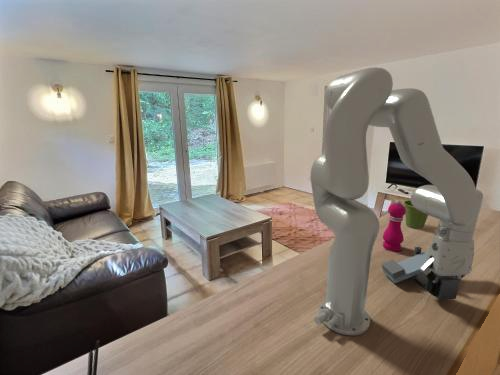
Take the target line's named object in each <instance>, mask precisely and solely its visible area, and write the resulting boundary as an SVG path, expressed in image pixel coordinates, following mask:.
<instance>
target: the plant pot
mask: <svg viewBox="0 0 500 375" xmlns="http://www.w3.org/2000/svg"><path fill="white" fill-rule="evenodd" d="M403 206H404V207H405V209H406V213H405V215H404V216H405V225H406V227H409V228H411V229H418V230H420V229H423V228H424V227H425V225H426V221H427V219H428V217H429V215H427V214H425V213H422V212H420V211H418V210H417V209H415V208H414V206H413V205H412V203H411V199H406V200H404V201H403Z"/></svg>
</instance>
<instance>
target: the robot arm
mask: <svg viewBox="0 0 500 375" xmlns="http://www.w3.org/2000/svg"><path fill="white" fill-rule="evenodd" d="M393 84H394V82H393V77H392V75H391V73H390V72H389V71H388V70H387V69H385V68H383V67H375V66H374V67H368V68H364V69H360V70H357V71H356V70H355V71H352V72H349V73H347V74H344V75H339V76H337V77H336V78H334V79H333V80H332V81H331V82H329V84H328V85H327V86H326V89H325V92H324V100H325V104H326V105H327V107H328V108H329V110H330V112H329V114H328V116H327V119H326V122H325V126H324V129H323V131H324V132H323V145H324V146H323V147H324V153H322V154H320V155H319V156H318V157H316V159H315V160H314V161H313V163H312V165H311V169H310V183H311V184H310V185H311V191H312V198H313V203H314V204H313V205H314V209H315V213H316V217H317V218H318V220H319V221H320V222H321V223H322V224H323V225H324V226H326V227H327V229H329V230H330V231H331V232H332V233H334V239H333V240H334V241H333V242H332V244H331V246H330V248H329V252H328V261H327V262H328V263H327V264H328V265H327V279H326V292H325V300H323V301H322V302H321V303H320V305H319V306H318V307H319V308H318V314H317V315H316V316H315V317H314V319H313V321H314V322H315V324H316V325H317V326H319V325H321V324H324V325H325V326H326V327H328V328H329V329H330V330H332V331H334V332H335V333H338V334H341V335H343V336H344V335H345V336H359V335H362V334H364V333H365V332H367V331H368V330H369V328H370V325H371V324H370V323H371V318H370V315H369V313H368V312H367V310H366V309H365V308H366V301H367V300H366V299H367V292H368V286H369V285H368V284H369V276H370V268H371V267H370V266H371V260H372V254H373V249H374V245H375V242H376V239H377V237H378V234H379V232H380V222H379V218H378V215H377V214H376V213H375V211H373V209H371V208H370V207H368V206H367V205H365V204H364V203H363V202H360V201H359V200H358V199H360V198H362V197H363V196H365V195H366V193H367V191H368V189H369V183H370V182H369V180H370V177H369V176H370V175H369V165H368V153H367V131H368V128H369V126H372V127H376V128H377V127H378V128H388V129H389V131H390V133H391V136H392V139H393V143H394V145H395V147H396V150H397V152H398V155H399V157H400V158H399V159H400V161H401V162H402V163H403V164H404V165H405V166H406V167H407V168H409V169H410V170H412V171H414V173H416V174H418V175H419V176H421V177H422V178H424V179H426V181H428V182H429V183H431V184H425V185H422V186H418V187H417V188H415V190H413V191H412V193H411V195H410V200H411V203H412V205H413V206H414V208H415V209H417V210H418V211H420V212H422V213H425V214H427V215H428V216H430V217H433V218H436V219H438V220H439V221H438V226H437V228H436V229H435V230H434V232H435V235H434V236H433V238H432V240H431V243H430V244H429V248H428V250H429V251H428V250H427V251H428V254H427V258H426V263H425V264H424V265H423V266H422V267H421V268H420V271H421V272H423V273H424V274H425V276H426V277H427V278H428V282H427V286H426V287H425V288H426V289H425V290H426V291H427V292H428V293H429V294H430V295H431V296H433V297H435V296H437V292H438V288H439V284H438V281H439V279H440V277H441V276H456V277H457V278H459V279H460V280H461V281H460V283H461V282H463V281H462V280H463V279H464V277H465V276H467V275H469V274H470V273H471V272H472V271H473V269H472V266H473V262H474V256H475V241H474V239H473V238H474V234H475V231H476V226H477V224H478V220H479V219H478V218H479V215H480V211H481V208H482V203H483V199H484V194H483V192H482V191H481V190H480V189H478V188H476V185H475V182H474V180H473V179H472V176H470V174H469V172H468V171H467V170H466V169H465V168H464V166H462V165H461V164H460V163H459V162H458V161H457V159H455V158H454V157H453V155H451V154H450V153H449V152H448V151H446V149H445V148H444V146H443V143H442V141H441V138H440V134H439V132H438V129H437V125H436V121H435V118H434V117H435V116H434V115H433V112H432V108H431V104H430V101H429V98H428V96H427V94H425V92H424V91H423V90H421V89H418V88H412V87H411V88H399V89H393ZM434 273H436V275H435V277H434V276H433V274H434Z"/></svg>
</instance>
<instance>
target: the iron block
mask: <svg viewBox="0 0 500 375" xmlns="http://www.w3.org/2000/svg"><path fill="white" fill-rule="evenodd" d="M435 275H436V273H434V274H433V276H434V277H435ZM460 281H461V280H460V279H459V278H457V277H456V276H441V277H440V279H439V281H438V284H439V288H438V292H437V296H434V298H436V299H437V300H438V301H444V300H456V299H457V296H458V291H459V288H460V285H461V284H460V283H461V282H462V281H461V282H460ZM427 282H428V279H427ZM426 286H427V283H426ZM424 289H425V290H426V287H424Z"/></svg>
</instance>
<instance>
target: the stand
mask: <svg viewBox="0 0 500 375" xmlns="http://www.w3.org/2000/svg"><path fill="white" fill-rule="evenodd" d="M422 249H423V248H422V247H421V246H417V247H416V246H415V247H414V250H413V251H414V252H413V256H415V255H418V254H420V253H422ZM410 278H411V280H413V281H414V282H416V283H417V284H418V285H420V287H422V288H426V283H427V279H428V278H427V277H426V276H425V274H424V273H423V272H422V273H419V274H417V275H414V276H412V277H410Z"/></svg>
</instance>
